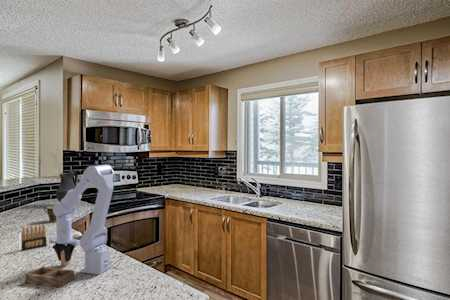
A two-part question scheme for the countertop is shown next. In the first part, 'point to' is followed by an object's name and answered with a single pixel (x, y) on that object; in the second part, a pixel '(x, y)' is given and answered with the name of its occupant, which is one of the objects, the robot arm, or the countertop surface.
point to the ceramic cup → (51, 214)
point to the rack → (50, 276)
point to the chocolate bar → (77, 235)
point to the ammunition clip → (33, 238)
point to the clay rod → (63, 259)
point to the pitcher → (66, 184)
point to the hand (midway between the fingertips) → (64, 260)
